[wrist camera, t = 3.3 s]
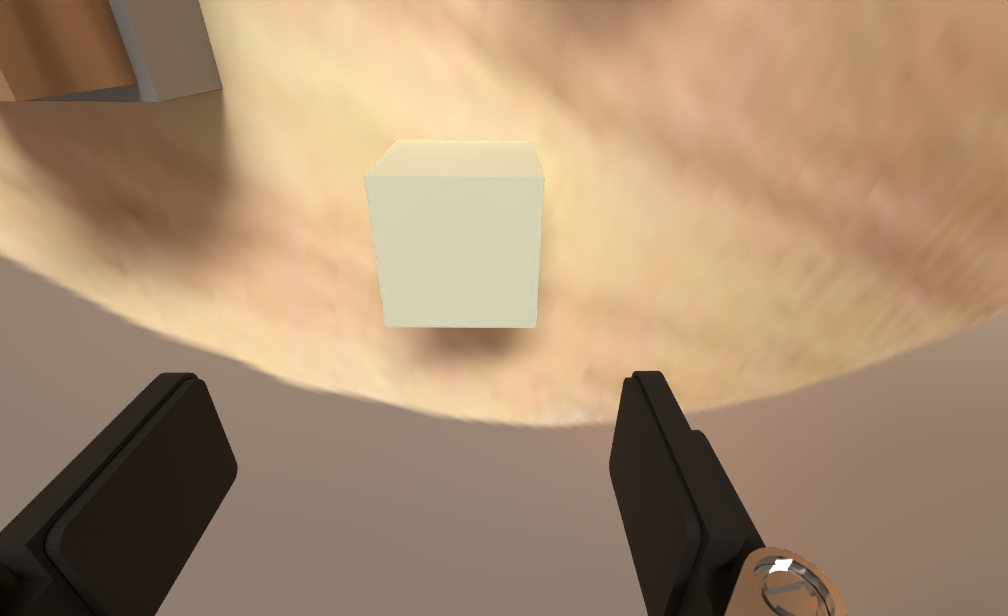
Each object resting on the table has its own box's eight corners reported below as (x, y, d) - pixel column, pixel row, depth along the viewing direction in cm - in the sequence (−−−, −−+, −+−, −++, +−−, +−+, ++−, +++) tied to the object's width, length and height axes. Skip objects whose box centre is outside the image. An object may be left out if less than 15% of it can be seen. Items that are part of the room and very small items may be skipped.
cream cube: (533, 140, 20) (544, 177, 15) (527, 263, 24) (535, 327, 18) (397, 139, 20) (363, 175, 15) (410, 262, 24) (385, 327, 18)
